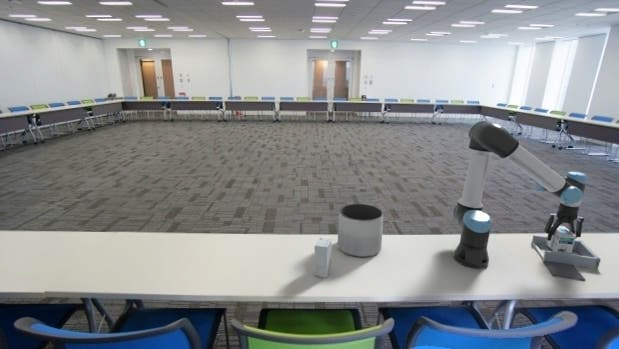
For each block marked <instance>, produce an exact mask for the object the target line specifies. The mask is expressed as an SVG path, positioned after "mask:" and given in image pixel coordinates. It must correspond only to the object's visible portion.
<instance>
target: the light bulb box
mask: <svg viewBox="0 0 619 349" xmlns="http://www.w3.org/2000/svg"><path fill="white" fill-rule="evenodd" d="M553 225H554V224H552V226H553ZM552 226H551V227H552ZM575 234H576V233H575ZM575 234H574V233H572V232H571V231H570V229H568V228H567V227H566V226H564V225H560V226H559V227H558V228H557V230H556V231H555V232H554V233H553V235H554V239H553V243H552V247H551V248H550V249H551V250H552V252H559V253H566V254H572V253H573V250H572V249H573V246H574V242H575V240H576V239H577V238H576V235H575ZM575 238H576V239H575ZM548 241H549V240H548V239H547V242H546V244H547V245H548Z"/></svg>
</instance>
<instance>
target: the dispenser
mask: <svg viewBox="0 0 619 349" xmlns="http://www.w3.org/2000/svg"><path fill="white" fill-rule="evenodd" d="M547 236H548V235H537V234H533V235H532V239H531V245H532V247H533V248H534V249H535V251H537V253H538V254H539V257H541V259H542V261H549V262H556V263H563V264H570V265H574V267H582V268H589V269H596V270H599V267H600V263H601V258H600V257H599V256H598V255H597V254H596V253H595V252H594V251H593V250H592V249H591V248H589V246H588V245H587V244H586V243H585V242H584V241H583V240H578V239H575V242H574V246H573V249H572V251H577V252H578V253H579V254H580V255H579V254H574V253H573V254H572V253H571V254H566V253H559V252H554V251H553V250H552V251H551V250H544V254H543V252H542V250H541V249H540V247H538V246H541V245H542V246H541V247H549V246H548V245H547V244H546V242H547ZM549 248H550V247H549Z"/></svg>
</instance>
